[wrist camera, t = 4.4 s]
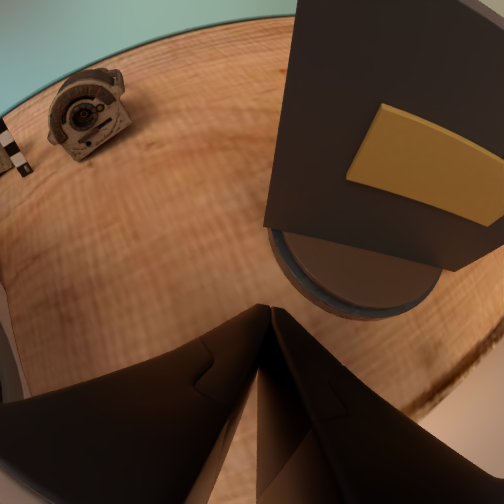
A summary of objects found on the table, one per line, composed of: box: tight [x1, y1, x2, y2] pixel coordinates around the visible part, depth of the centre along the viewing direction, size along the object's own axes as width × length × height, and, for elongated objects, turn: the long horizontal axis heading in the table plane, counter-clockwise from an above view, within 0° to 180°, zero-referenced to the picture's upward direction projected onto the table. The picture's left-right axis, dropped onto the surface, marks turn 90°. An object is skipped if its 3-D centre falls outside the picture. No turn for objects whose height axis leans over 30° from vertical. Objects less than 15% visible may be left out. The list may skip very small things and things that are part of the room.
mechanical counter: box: [47, 68, 132, 162], centre depth 20 cm, size 7×13×10 cm
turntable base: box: [268, 228, 442, 321], centre depth 20 cm, size 14×14×2 cm
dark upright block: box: [263, 0, 504, 309], centre depth 11 cm, size 13×14×16 cm
